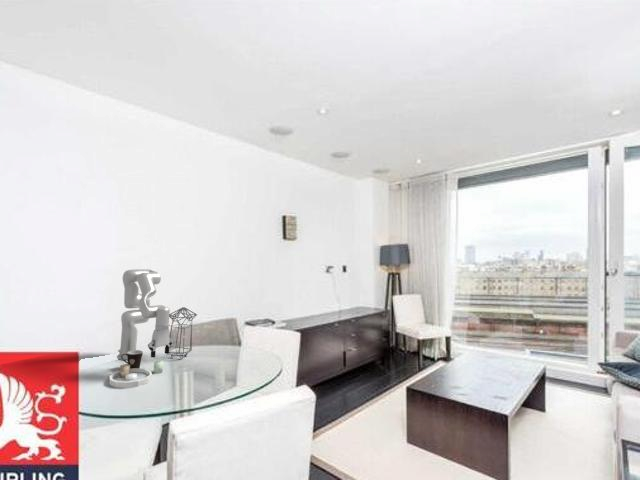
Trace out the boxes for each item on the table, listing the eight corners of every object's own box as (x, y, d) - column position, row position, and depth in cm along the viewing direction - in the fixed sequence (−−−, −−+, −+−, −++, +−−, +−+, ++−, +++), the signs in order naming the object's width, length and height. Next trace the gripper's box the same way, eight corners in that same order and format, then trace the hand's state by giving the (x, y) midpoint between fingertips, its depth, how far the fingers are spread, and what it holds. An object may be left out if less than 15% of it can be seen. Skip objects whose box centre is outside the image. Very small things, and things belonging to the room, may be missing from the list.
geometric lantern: (162, 358, 233) (166, 307, 235) (176, 352, 249) (180, 304, 251) (182, 361, 230) (186, 309, 232) (195, 355, 245) (199, 306, 247)
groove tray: (101, 381, 191) (101, 376, 191) (136, 370, 209) (136, 365, 210) (124, 391, 181) (124, 385, 181) (158, 379, 200) (159, 373, 200)
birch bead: (117, 376, 197) (118, 365, 197) (125, 373, 202) (126, 363, 202) (122, 378, 195) (123, 367, 195) (131, 375, 199) (132, 365, 199)
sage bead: (151, 372, 209) (152, 362, 209) (158, 370, 213) (159, 360, 213) (157, 374, 207) (157, 364, 207) (164, 372, 211) (165, 362, 211)
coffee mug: (144, 367, 216) (146, 351, 216) (133, 371, 208) (134, 355, 208) (130, 364, 220) (132, 348, 220) (119, 368, 212) (120, 352, 212)
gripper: (169, 324, 220) (167, 351, 219) (145, 329, 205) (143, 357, 204) (177, 326, 216) (175, 353, 216) (153, 330, 201) (151, 360, 200)
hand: (160, 355), depth 210 cm, fingers open, 9 cm apart
